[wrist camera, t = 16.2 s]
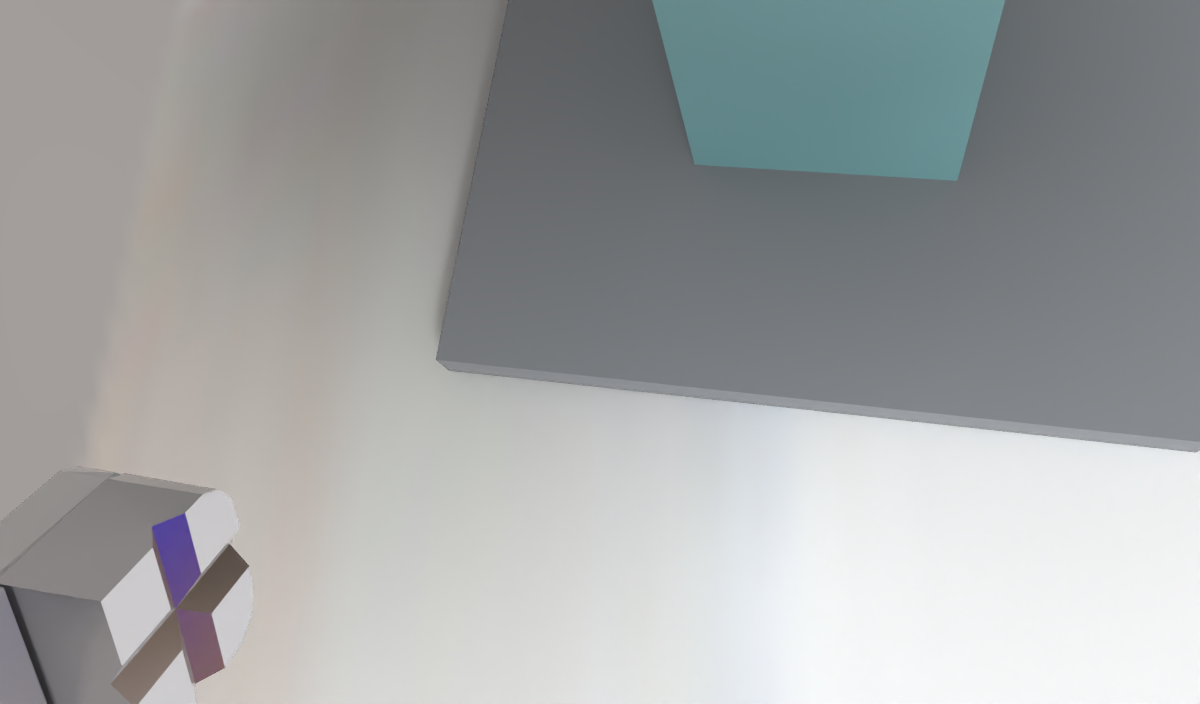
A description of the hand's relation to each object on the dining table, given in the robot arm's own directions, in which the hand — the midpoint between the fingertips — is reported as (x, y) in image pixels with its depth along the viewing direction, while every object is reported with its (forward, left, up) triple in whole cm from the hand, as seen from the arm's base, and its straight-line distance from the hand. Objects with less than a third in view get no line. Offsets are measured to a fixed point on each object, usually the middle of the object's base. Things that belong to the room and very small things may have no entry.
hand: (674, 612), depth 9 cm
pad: (-10, -6, -11) cm, 16 cm away
